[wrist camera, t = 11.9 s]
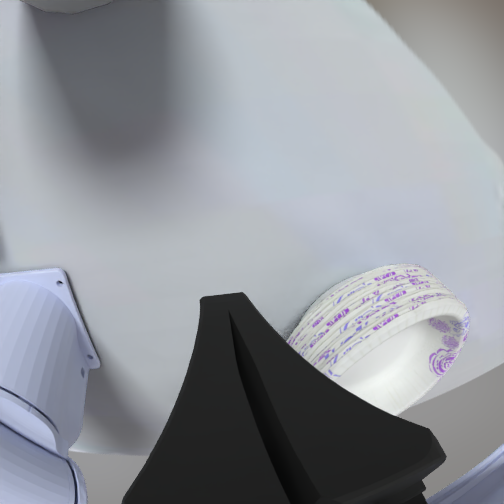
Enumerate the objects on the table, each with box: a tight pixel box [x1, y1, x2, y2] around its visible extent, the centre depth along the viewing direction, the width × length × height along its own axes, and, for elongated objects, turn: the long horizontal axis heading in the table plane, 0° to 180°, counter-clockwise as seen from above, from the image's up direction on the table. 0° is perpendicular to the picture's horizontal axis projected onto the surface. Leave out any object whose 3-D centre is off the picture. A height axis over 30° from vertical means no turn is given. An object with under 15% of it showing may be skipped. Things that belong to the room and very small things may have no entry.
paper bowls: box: [286, 263, 470, 416], centre depth 23 cm, size 15×15×8 cm
